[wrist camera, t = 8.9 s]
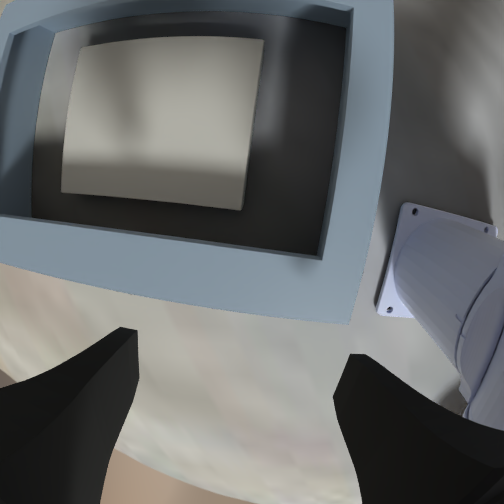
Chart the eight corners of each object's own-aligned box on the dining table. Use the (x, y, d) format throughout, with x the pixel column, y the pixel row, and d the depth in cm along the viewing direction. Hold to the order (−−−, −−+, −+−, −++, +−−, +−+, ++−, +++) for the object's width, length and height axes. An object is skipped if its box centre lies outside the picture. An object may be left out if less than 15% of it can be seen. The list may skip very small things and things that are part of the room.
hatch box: (361, 20, 14) (392, -22, 9) (326, 279, 19) (348, 324, 14) (50, 25, 14) (5, 5, 9) (25, 234, 20) (-25, 255, 14)
